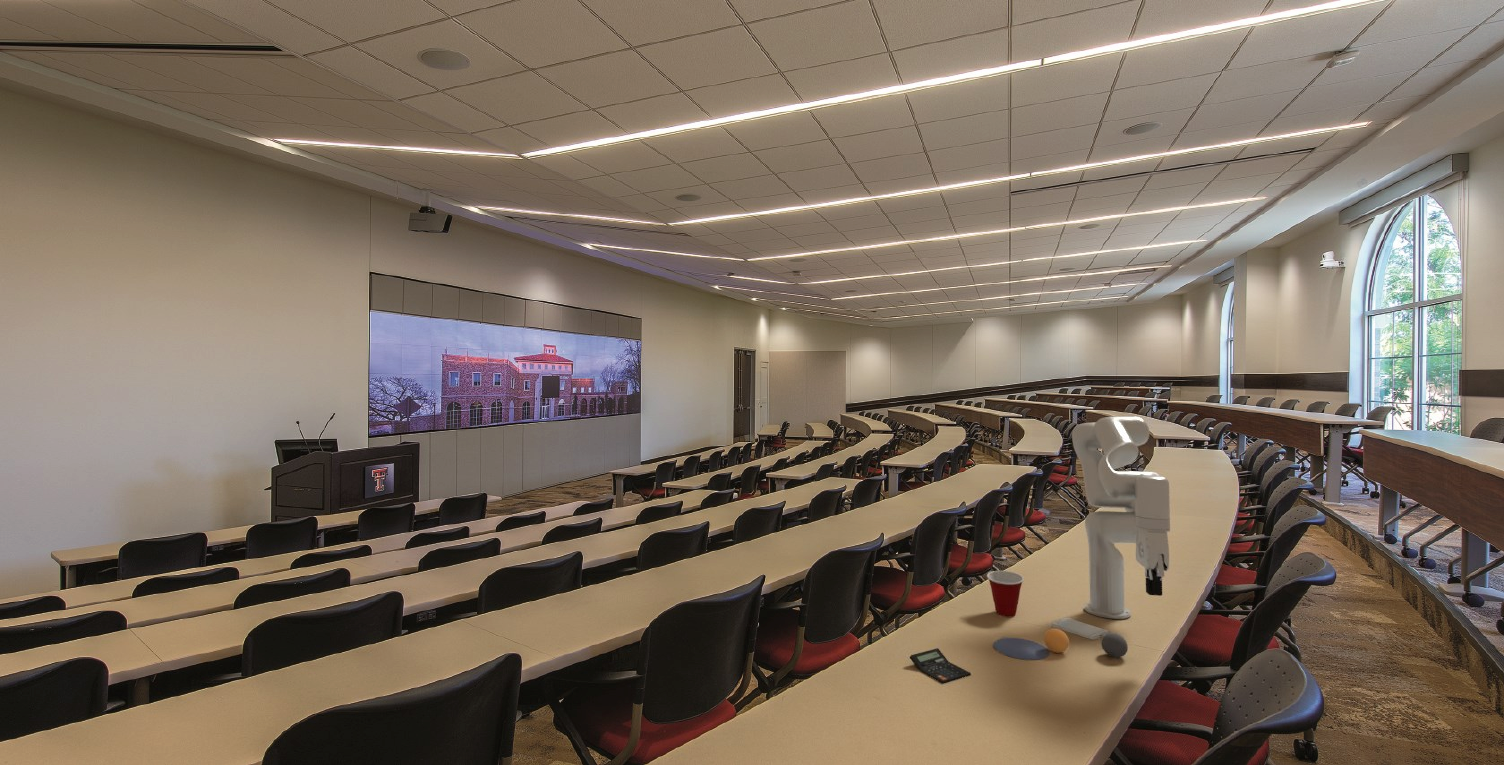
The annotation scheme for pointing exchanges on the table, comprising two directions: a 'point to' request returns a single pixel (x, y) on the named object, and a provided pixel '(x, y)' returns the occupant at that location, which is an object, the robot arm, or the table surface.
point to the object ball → (1056, 640)
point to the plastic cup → (1005, 591)
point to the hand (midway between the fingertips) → (1154, 594)
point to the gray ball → (1114, 645)
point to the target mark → (1021, 648)
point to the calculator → (938, 666)
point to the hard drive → (1080, 628)
